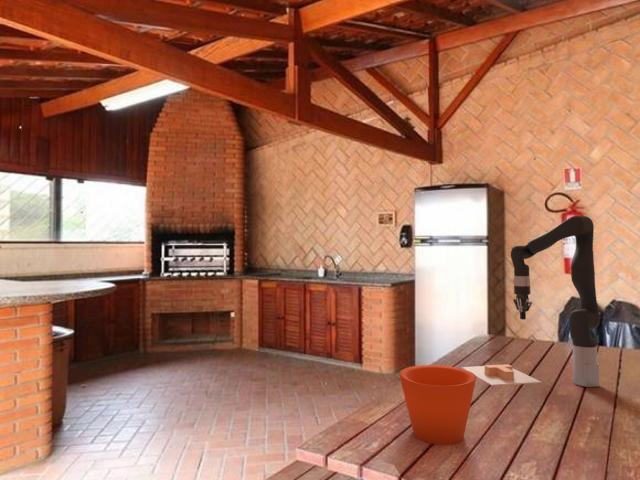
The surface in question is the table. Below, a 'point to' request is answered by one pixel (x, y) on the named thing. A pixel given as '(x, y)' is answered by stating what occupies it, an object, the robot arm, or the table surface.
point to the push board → (497, 381)
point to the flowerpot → (438, 401)
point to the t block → (500, 371)
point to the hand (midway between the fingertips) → (522, 319)
